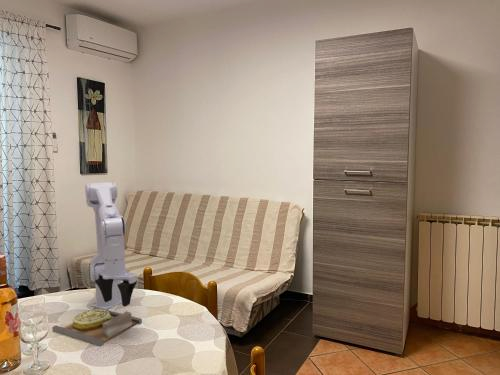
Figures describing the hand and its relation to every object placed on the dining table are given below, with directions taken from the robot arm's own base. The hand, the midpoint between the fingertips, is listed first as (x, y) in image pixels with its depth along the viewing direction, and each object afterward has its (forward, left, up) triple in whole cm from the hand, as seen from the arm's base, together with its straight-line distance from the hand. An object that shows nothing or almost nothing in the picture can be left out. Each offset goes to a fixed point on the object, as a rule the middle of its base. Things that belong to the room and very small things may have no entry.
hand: (117, 303), depth 109 cm
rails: (0, -9, -9) cm, 13 cm away
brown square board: (0, -8, -9) cm, 12 cm away
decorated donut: (0, -12, -10) cm, 15 cm away
